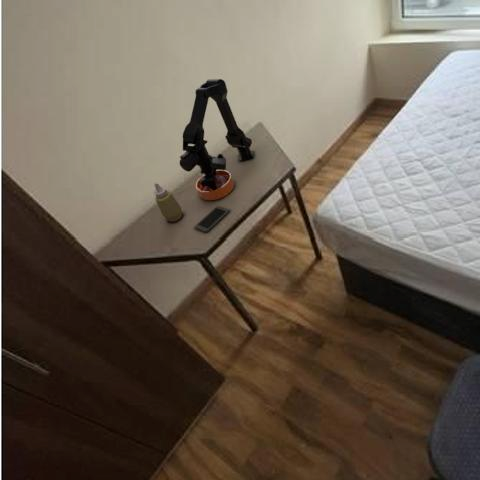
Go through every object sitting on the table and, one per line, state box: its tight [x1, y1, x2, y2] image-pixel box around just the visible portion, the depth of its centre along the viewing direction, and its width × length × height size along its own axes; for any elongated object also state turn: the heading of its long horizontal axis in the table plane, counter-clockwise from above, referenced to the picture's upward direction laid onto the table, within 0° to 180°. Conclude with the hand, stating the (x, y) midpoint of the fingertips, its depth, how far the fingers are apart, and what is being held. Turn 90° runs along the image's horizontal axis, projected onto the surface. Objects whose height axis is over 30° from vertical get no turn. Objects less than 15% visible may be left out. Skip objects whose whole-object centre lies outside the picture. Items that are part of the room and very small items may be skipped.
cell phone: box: [194, 206, 230, 233], centre depth 163 cm, size 7×14×1 cm, turn 146°
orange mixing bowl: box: [195, 169, 235, 201], centre depth 177 cm, size 16×16×5 cm
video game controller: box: [205, 175, 226, 191], centre depth 177 cm, size 10×5×7 cm, turn 84°
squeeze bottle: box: [154, 182, 183, 223], centre depth 163 cm, size 8×8×18 cm
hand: (216, 186), depth 178 cm, fingers closed on video game controller, 6 cm apart
